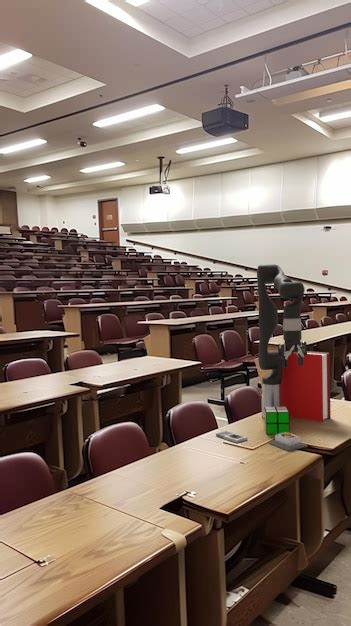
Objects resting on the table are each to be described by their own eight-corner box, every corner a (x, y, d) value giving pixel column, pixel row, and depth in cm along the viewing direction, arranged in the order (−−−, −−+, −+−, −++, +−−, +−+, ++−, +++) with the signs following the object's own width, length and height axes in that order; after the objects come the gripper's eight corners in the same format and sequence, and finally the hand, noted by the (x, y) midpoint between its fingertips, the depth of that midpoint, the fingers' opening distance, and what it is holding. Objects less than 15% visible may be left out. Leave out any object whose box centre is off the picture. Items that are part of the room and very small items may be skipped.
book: (330, 418, 233) (329, 352, 232) (323, 422, 227) (322, 354, 226) (280, 410, 252) (279, 349, 250) (272, 413, 246) (271, 351, 244)
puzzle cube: (286, 428, 220) (286, 406, 219) (289, 434, 210) (289, 412, 209) (264, 428, 221) (264, 406, 220) (266, 434, 211) (265, 412, 210)
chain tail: (215, 436, 211) (215, 433, 210) (226, 433, 214) (226, 430, 214) (236, 443, 200) (236, 440, 200) (247, 439, 204) (247, 437, 204)
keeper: (268, 443, 199) (268, 431, 198) (286, 439, 204) (286, 427, 203) (288, 451, 188) (288, 438, 188) (307, 446, 193) (307, 434, 193)
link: (275, 441, 198) (275, 434, 198) (287, 439, 201) (286, 432, 201) (288, 447, 191) (288, 439, 191) (300, 444, 194) (300, 436, 194)
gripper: (298, 327, 211) (299, 364, 212) (273, 329, 204) (274, 367, 205) (311, 328, 205) (311, 366, 206) (285, 330, 198) (286, 369, 199)
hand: (292, 366), depth 205 cm, fingers open, 8 cm apart
